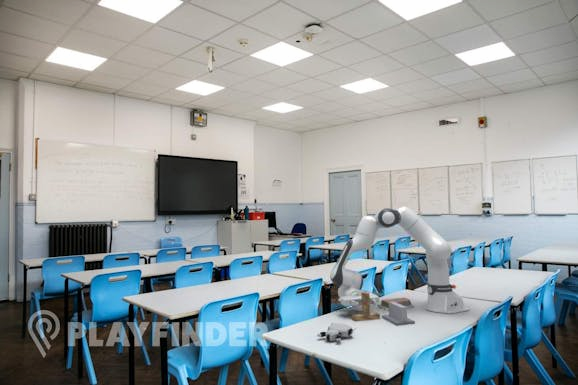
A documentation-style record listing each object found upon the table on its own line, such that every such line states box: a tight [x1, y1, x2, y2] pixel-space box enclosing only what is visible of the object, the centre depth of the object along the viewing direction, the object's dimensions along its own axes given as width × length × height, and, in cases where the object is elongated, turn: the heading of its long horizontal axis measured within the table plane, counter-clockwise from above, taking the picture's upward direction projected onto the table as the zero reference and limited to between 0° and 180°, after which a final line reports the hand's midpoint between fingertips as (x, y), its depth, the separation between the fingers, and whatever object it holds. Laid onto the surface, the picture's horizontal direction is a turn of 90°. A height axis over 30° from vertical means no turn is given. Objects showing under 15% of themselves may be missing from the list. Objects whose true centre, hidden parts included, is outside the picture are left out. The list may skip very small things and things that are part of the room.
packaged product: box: [376, 297, 414, 312], centre depth 221 cm, size 18×5×10 cm
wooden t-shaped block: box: [351, 292, 381, 322], centre depth 197 cm, size 14×3×14 cm, turn 105°
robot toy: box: [316, 322, 357, 342], centre depth 169 cm, size 12×4×15 cm
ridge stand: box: [381, 302, 416, 327], centre depth 194 cm, size 10×14×8 cm
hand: (366, 303), depth 197 cm, fingers open, 8 cm apart
